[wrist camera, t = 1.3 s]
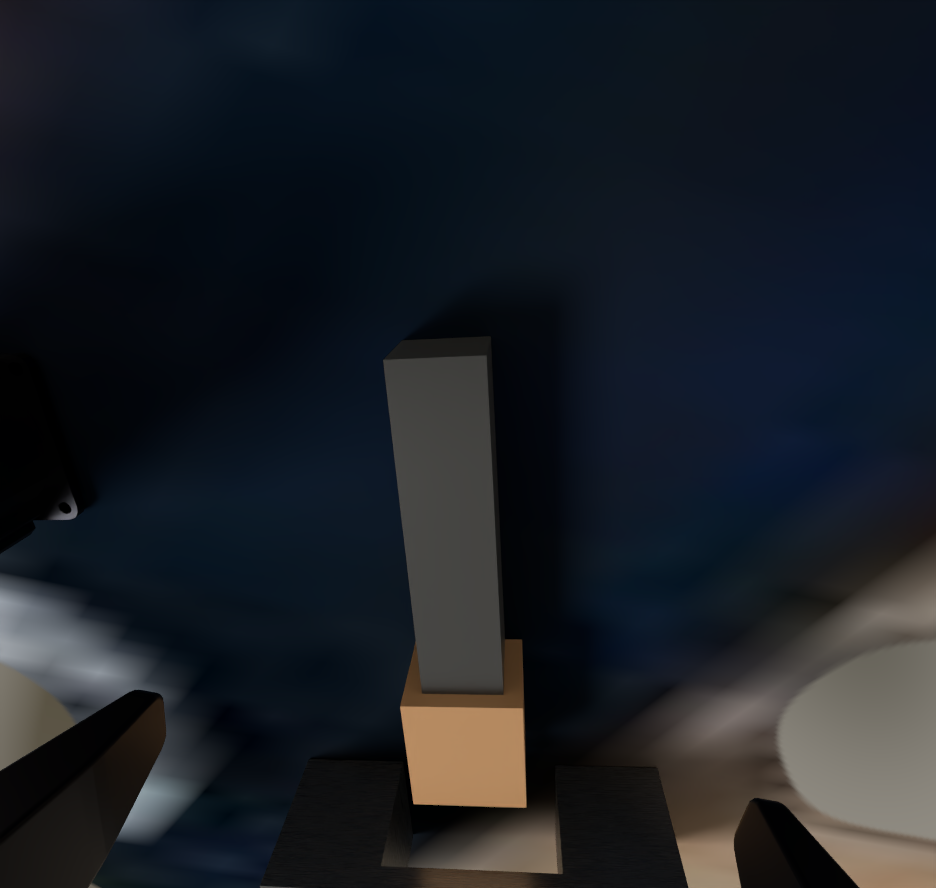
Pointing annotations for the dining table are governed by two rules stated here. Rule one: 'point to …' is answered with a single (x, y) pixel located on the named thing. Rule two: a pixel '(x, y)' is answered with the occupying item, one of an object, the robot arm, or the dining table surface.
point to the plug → (455, 579)
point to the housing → (395, 884)
